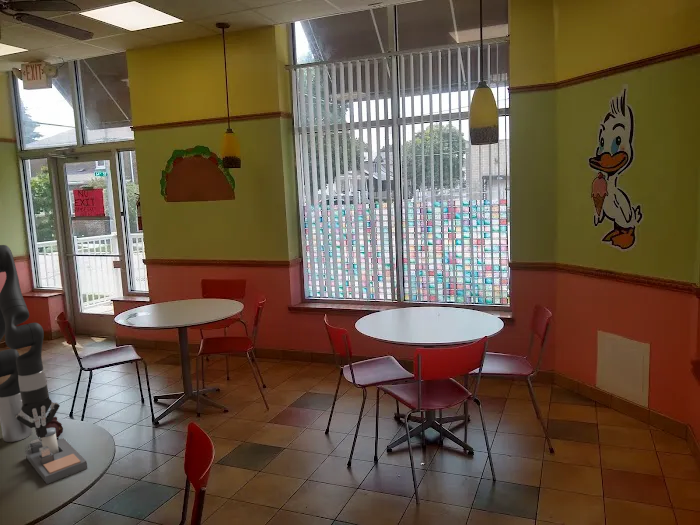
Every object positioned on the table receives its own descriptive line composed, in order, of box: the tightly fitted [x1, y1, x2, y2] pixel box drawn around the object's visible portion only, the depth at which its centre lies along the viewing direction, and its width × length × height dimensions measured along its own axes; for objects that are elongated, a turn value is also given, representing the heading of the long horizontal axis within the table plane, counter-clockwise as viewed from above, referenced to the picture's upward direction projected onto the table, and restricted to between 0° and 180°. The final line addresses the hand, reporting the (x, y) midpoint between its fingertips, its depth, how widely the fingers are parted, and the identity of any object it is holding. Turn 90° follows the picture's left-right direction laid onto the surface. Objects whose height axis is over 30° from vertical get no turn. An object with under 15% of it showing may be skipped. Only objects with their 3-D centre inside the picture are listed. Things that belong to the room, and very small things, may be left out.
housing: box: [25, 437, 88, 485], centre depth 182 cm, size 25×12×4 cm, turn 43°
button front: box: [39, 446, 50, 458], centre depth 179 cm, size 2×2×3 cm
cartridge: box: [40, 428, 59, 455], centre depth 185 cm, size 5×5×10 cm
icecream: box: [46, 416, 64, 438], centre depth 202 cm, size 7×7×15 cm
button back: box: [30, 438, 41, 447], centre depth 188 cm, size 2×2×3 cm
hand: (42, 436), depth 178 cm, fingers closed
